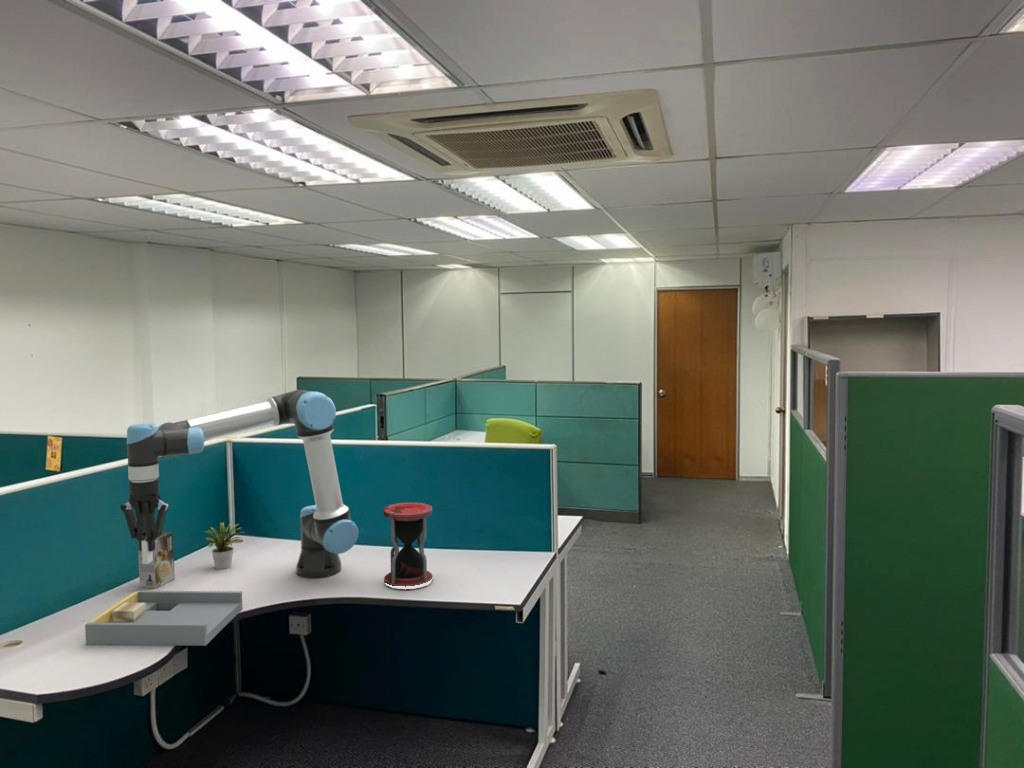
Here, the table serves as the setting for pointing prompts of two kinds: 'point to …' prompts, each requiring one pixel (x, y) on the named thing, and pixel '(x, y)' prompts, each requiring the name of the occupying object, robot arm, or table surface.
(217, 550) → the house plant
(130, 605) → the block
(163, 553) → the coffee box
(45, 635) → the table surface
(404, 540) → the hourglass
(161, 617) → the box
